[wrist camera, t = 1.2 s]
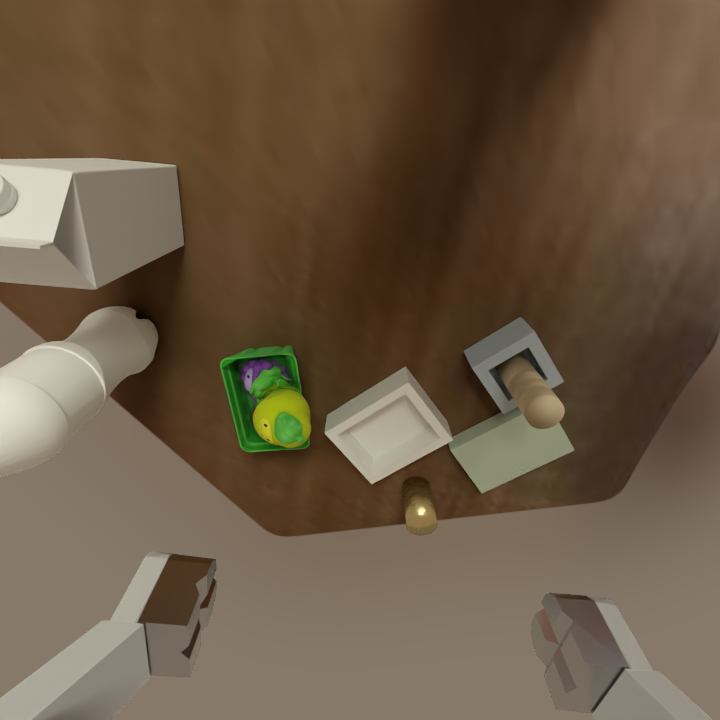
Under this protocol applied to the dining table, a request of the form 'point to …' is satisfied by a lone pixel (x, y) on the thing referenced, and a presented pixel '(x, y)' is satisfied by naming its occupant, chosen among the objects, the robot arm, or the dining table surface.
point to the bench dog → (419, 506)
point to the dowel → (530, 392)
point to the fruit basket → (267, 399)
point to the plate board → (506, 448)
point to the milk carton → (85, 219)
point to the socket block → (502, 348)
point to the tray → (388, 426)
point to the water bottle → (68, 384)
